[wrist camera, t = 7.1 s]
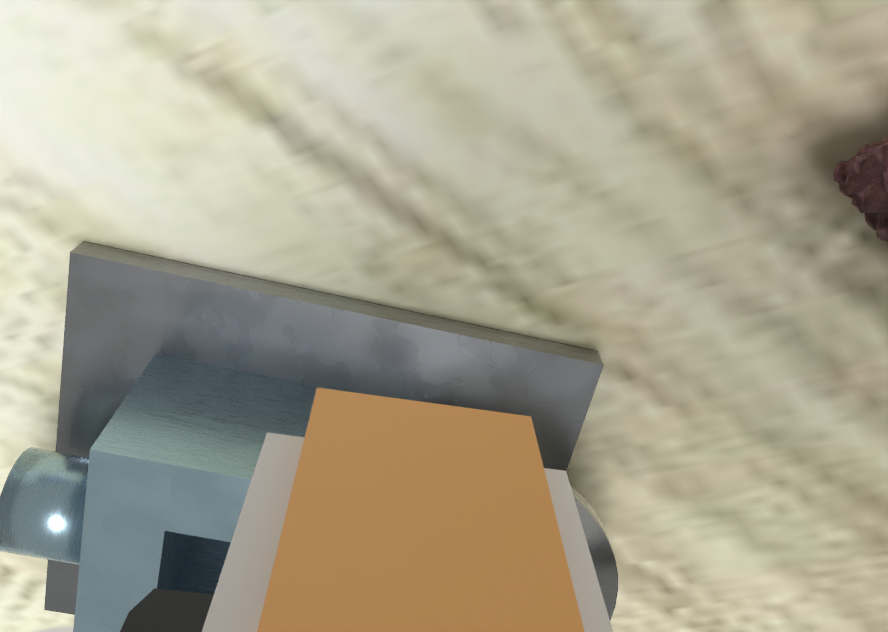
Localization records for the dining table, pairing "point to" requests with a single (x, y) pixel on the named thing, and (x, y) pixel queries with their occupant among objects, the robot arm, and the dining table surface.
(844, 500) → the dining table surface
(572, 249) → the dining table surface
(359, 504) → the orange rectangular block
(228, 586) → the robot arm
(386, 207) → the dining table surface
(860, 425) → the dining table surface
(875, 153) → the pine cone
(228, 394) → the grey square hole fixture
